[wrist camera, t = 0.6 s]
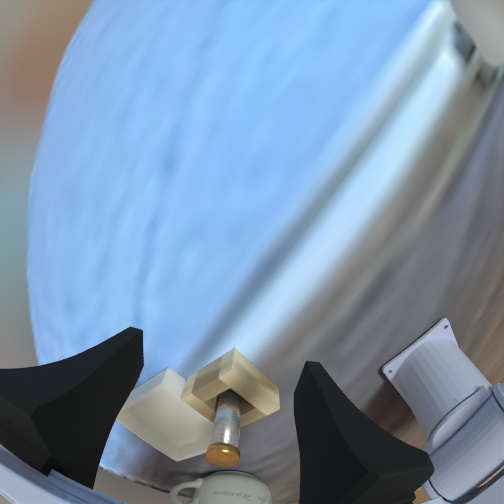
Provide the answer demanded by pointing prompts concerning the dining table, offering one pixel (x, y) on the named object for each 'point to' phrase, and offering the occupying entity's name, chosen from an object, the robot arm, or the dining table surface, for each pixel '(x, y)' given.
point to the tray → (166, 417)
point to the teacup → (225, 489)
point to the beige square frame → (237, 378)
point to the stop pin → (226, 431)
